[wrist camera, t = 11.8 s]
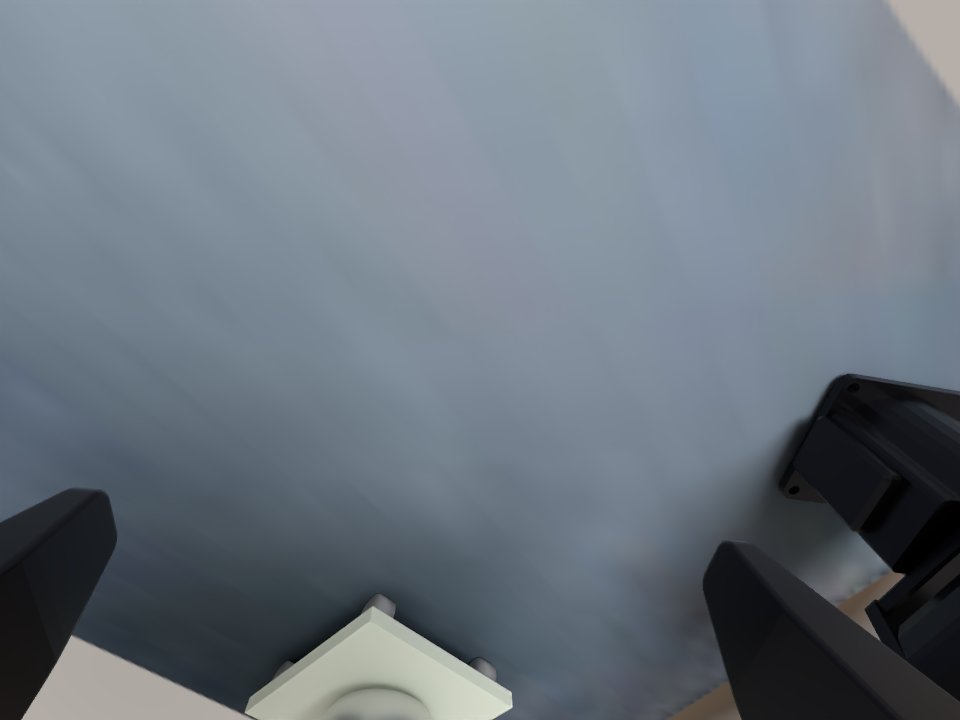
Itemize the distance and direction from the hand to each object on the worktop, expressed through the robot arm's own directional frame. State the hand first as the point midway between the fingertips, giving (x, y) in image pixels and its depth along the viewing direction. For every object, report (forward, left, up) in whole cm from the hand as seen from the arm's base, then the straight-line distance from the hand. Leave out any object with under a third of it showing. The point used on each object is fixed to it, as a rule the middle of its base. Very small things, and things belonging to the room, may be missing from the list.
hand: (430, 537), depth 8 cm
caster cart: (0, +23, -13) cm, 27 cm away
